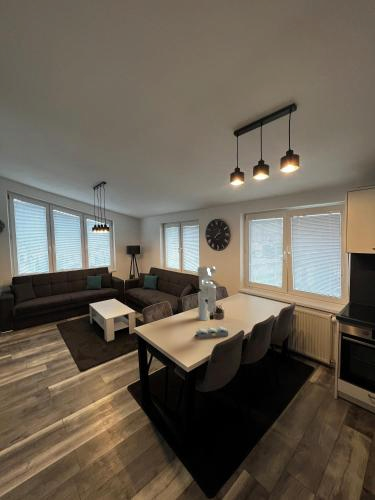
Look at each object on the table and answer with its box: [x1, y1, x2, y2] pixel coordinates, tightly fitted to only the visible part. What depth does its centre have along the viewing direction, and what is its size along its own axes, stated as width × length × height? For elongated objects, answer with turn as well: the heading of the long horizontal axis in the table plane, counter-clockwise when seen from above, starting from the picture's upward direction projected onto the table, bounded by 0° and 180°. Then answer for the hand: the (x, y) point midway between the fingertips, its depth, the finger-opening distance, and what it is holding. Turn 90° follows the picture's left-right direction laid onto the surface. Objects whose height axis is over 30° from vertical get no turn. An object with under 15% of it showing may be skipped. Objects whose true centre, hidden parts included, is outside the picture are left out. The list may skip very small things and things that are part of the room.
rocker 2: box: [207, 326, 217, 332], centre depth 190 cm, size 4×8×2 cm, turn 104°
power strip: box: [194, 328, 229, 340], centre depth 191 cm, size 7×31×5 cm, turn 104°
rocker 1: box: [198, 327, 208, 333], centre depth 188 cm, size 4×8×2 cm, turn 105°
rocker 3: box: [216, 326, 228, 331], centre depth 192 cm, size 4×8×2 cm, turn 104°
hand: (211, 319), depth 189 cm, fingers closed
